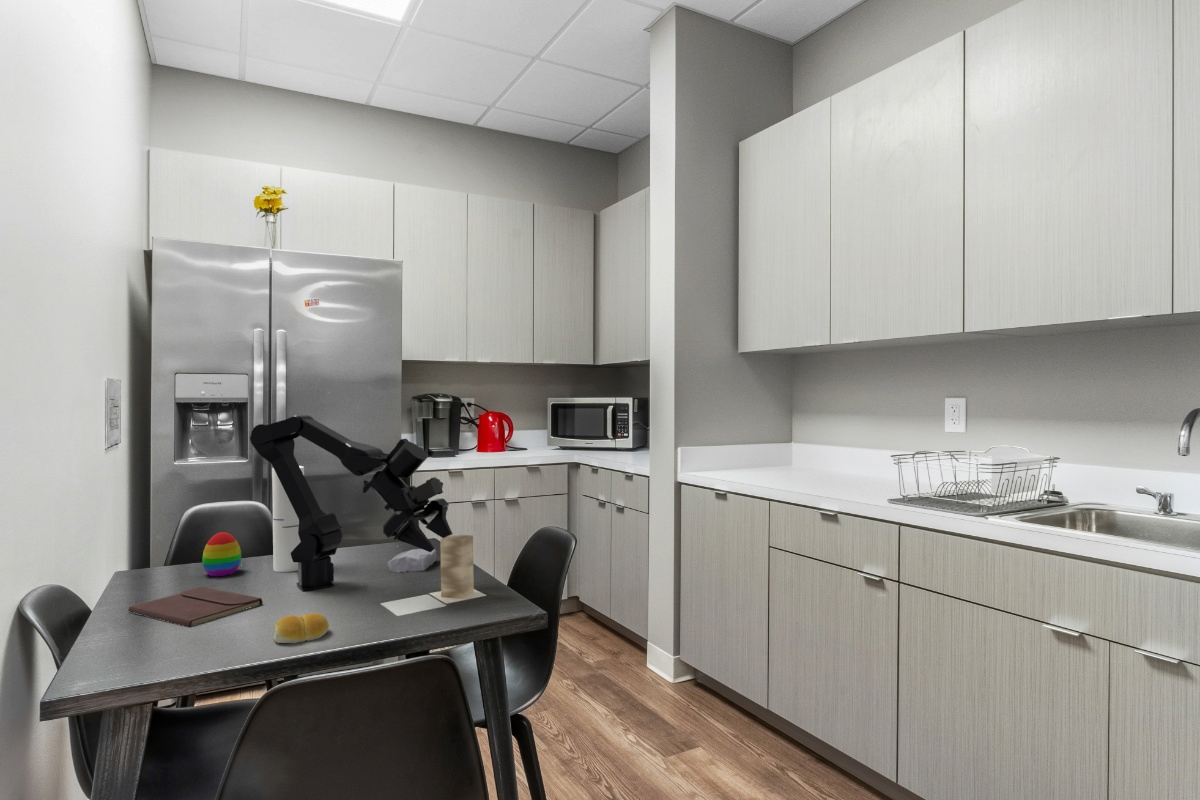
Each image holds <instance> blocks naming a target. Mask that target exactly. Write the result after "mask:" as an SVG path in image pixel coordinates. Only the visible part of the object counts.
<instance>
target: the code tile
mask: <svg viewBox="0 0 1200 800" xmlns="http://www.w3.org/2000/svg"><path fill="white" fill-rule="evenodd" d="M428 595H429V596H431V597H433V598H435V599H436V600H438V601H440V602H441V603H443V604H445V605H447V604H451V603H452V604H453V603H457V602H461V601H467V600H473V599H476V598H482V597H486V596H487V594H485V593H483V592H481V591H479V590H477V589H475V588H474V592H472V593H471V594H469V595H468V596H466V597H465V598H448V597H441V590H440V591H435V592H430V593H429V592H428Z"/></svg>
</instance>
